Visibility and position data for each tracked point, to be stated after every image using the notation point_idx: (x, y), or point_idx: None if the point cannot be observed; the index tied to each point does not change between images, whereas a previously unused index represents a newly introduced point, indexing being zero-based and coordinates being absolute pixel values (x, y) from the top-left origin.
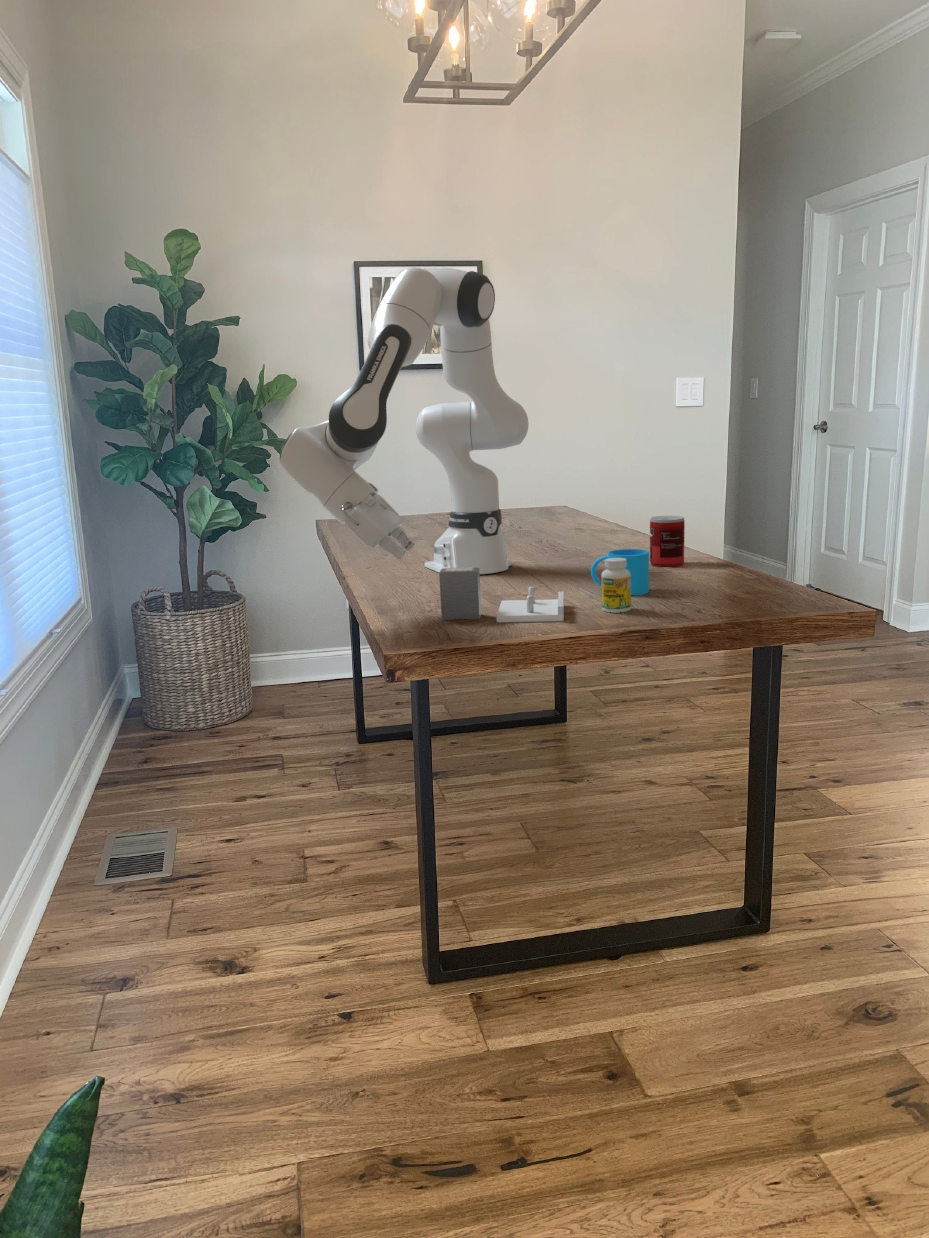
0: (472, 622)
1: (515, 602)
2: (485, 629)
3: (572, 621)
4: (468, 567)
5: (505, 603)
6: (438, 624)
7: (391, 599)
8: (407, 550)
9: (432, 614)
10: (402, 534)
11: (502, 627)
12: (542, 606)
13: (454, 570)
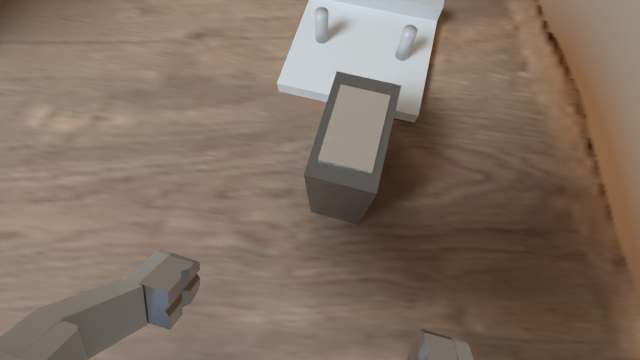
0: (398, 165)
1: (306, 63)
2: (466, 151)
3: None
4: (340, 98)
5: (307, 81)
6: (397, 237)
7: None
8: (195, 294)
9: (291, 237)
10: (88, 322)
11: (456, 120)
12: (361, 29)
13: (378, 143)
